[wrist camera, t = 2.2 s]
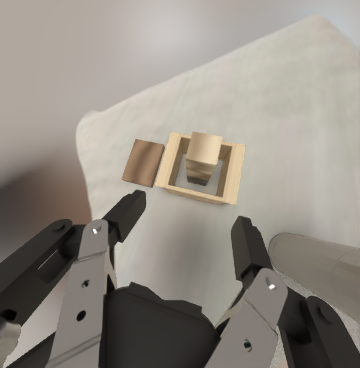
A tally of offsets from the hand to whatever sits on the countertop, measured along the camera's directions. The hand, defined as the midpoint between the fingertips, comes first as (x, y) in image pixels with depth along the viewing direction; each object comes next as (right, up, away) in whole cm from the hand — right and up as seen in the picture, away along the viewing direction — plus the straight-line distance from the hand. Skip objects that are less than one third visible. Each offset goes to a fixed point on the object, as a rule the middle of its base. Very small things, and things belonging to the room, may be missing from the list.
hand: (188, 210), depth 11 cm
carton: (+5, +5, +25) cm, 26 cm away
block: (+5, +5, +25) cm, 26 cm away
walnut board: (-11, +8, +27) cm, 31 cm away
